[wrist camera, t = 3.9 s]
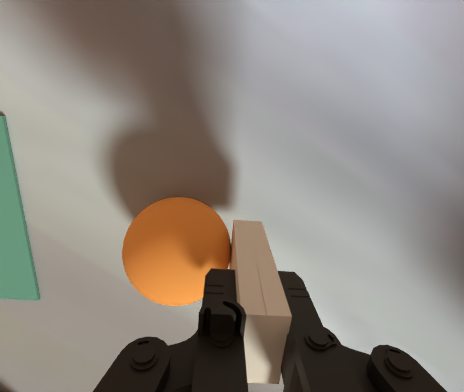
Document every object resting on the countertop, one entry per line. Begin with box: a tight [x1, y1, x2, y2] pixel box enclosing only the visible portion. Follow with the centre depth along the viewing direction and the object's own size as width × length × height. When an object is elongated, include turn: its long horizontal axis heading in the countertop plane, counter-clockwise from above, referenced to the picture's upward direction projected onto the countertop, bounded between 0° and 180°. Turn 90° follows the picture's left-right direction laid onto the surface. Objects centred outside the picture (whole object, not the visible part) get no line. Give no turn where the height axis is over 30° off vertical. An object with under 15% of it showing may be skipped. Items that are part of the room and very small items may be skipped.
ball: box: [122, 197, 231, 306], centre depth 14 cm, size 6×6×6 cm
